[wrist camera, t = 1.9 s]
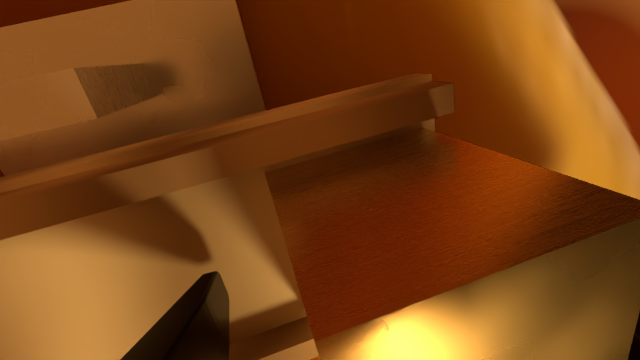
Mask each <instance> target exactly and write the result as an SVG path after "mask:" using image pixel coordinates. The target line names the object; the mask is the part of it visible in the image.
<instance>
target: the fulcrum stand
mask: <svg viewBox="0 0 640 360" xmlns="http://www.w3.org/2000/svg"><path fill="white" fill-rule="evenodd" d="M262 111H266V108H265V104H264V100H263V97H262V93H261V89H260V86H259V82H258V78H257V74H256V71H255V67H254V63H253V60H252V56H251V52H250V49H249V45H248V41H247V38H246V34H245V30H244V27H243V23H242V19H241V16H240V12H239V8H238V4H237V1H236V0H130V1H125V2H120V3H116V4H111V5H106V6H101V7H96V8H91V9H87V10H82V11H77V12H72V13H67V14H63V15H58V16H53V17H48V18H43V19H39V20H34V21H29V22H24V23H19V24H15V25H10V26H5V27H0V170H1V172H2V173H3V175H4V176H8V175H12V174H16V173H20V172H24V171H28V170H32V169H36V168H40V167H44V166H48V165H52V164H56V163H60V162H64V161H68V160H71V159H75V158H79V157H83V156H87V155H91V154H95V153H99V152H103V151H107V150H111V149H115V148H119V147H123V146H127V145H131V144H135V143H139V142H143V141H147V140H151V139H155V138H159V137H163V136H167V135H170V134H174V133H178V132H182V131H186V130H190V129H194V128H198V127H202V126H206V125H210V124H214V123H218V122H222V121H226V120H230V119H234V118H238V117H242V116H246V115H250V114H254V113H258V112H262Z"/></svg>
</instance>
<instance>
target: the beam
mask: <svg viewBox="0 0 640 360" xmlns="http://www.w3.org/2000/svg"><path fill="white" fill-rule="evenodd" d="M452 113H455V99H454V83H449V82H438V81H432V74H423V73H412V74H408V75H404V76H400V77H396V78H392V79H388V80H384V81H380V82H376V83H372V84H368V85H364V86H361V87H357V88H353V89H349V90H345V91H341V92H337V93H333V94H329V95H325V96H321V97H317V98H313V99H309V100H305V101H301V102H297V103H293V104H289V105H285V106H281V107H277V108H273V109H269V110H266V111H262V112H258V113H254V114H250V115H246V116H242V117H238V118H234V119H230V120H226V121H222V122H218V123H214V124H210V125H206V126H202V127H198V128H194V129H190V130H186V131H182V132H178V133H174V134H170V135H167V136H163V137H159V138H155V139H151V140H147V141H143V142H139V143H135V144H131V145H127V146H123V147H119V148H115V149H111V150H107V151H103V152H99V153H95V154H91V155H87V156H83V157H79V158H75V159H71V160H68V161H64V162H60V163H56V164H52V165H48V166H44V167H40V168H36V169H32V170H28V171H24V172H20V173H16V174H12V175H8V176H4V177H0V360H120V359H121V358H122V357H123V356H124V355H125V354H126V353H127V352H128V351H129V350H130V349H131V348H132V347H133V346H134V345H135V344H136V343H137V342H138V341H139V340H140V339H141V338H142V337H143V335H144V334H145V333H146V332H147V331H148V330H149V329H150V328H151V327H152V326H153V325H154V324H155V323H156V322H157V321H158V320H159V319H160V318H161V317H162V316H163V315H164V314H165V313H166V312H167V311H168V310H169V309H170V308H171V307H172V306H173V305H174V304H175V302H176V301H177V300H178V299H179V298H180V297H181V296H182V295H183V294H184V293H185V292H186V291H187V290H188V289H189V288H190V287H191V286H192V285H193V284H194V283H195V282H196V281H197V280H198V279H199V278H200V277H201V276H202V275H203V274H206V273H209V272H213V271H218V272H219V273H220V275H221V277H222V280H223V282H224V285H225V287H226V289H227V292H228V295H229V360H309V359H312V358H315V357H317V356H319V355H318V352H317V348H316V345H315V342H314V338H313V335H312V331H311V328H310V325H309V321H308V318H307V315H306V311H305V308H304V304H303V301H302V298H301V294H300V291H299V288H298V284H297V281H296V277H295V274H294V271H293V267H292V264H291V261H290V257H289V254H288V250H287V247H286V244H285V240H284V237H283V234H282V230H281V227H280V223H279V220H278V217H277V213H276V210H275V207H274V203H273V200H272V196H271V193H270V190H269V186H268V183H267V179H266V176H265V173H264V172H268V171H271V170H275V169H278V168H282V167H285V166H289V165H292V164H296V163H300V162H303V161H307V160H310V159H314V158H317V157H321V156H324V155H328V154H331V153H335V152H338V151H342V150H345V149H349V148H352V147H356V146H359V145H363V144H366V143H370V142H373V141H377V140H381V139H384V138H388V137H391V136H395V135H398V134H402V133H405V132H409V131H412V130H416V129H419V128H423V127H424V128H427V129H430V130H433V131H435V118H438V117H441V116H445V115H449V114H452Z"/></svg>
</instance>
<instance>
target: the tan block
mask: <svg viewBox="0 0 640 360" xmlns="http://www.w3.org/2000/svg"><path fill="white" fill-rule="evenodd" d="M264 173H265V176H266V179H267V183H268V186H269V190H270V193H271V196H272V200H273V203H274V207H275V210H276V213H277V217H278V220H279V223H280V227H281V230H282V234H283V237H284V240H285V244H286V247H287V250H288V254H289V257H290V261H291V264H292V267H293V271H294V274H295V277H296V281H297V284H298V288H299V291H300V294H301V298H302V301H303V304H304V308H305V311H306V315H307V318H308V321H309V325H310V328H311V331H312V335H313V338H314V342H315V345H316V348H317V352H318V355H319V358H320V360H628V356H629V352H630V348H631V344H632V340H633V336H634V332H635V328H636V324H637V320H638V316H639V312H640V200H638V199H636V198H633V197H630V196H627V195H624V194H621V193H618V192H615V191H612V190H609V189H606V188H603V187H600V186H597V185H594V184H591V183H588V182H585V181H582V180H579V179H576V178H573V177H570V176H567V175H564V174H561V173H558V172H555V171H552V170H549V169H546V168H543V167H540V166H537V165H534V164H531V163H528V162H525V161H522V160H519V159H516V158H513V157H510V156H507V155H504V154H501V153H498V152H495V151H492V150H490V149H487V148H484V147H481V146H478V145H475V144H472V143H469V142H466V141H463V140H460V139H457V138H454V137H451V136H448V135H445V134H442V133H439V132H436V131H433V130H430V129H427V128H424V127H423V128H419V129H416V130H412V131H409V132H405V133H402V134H398V135H395V136H391V137H388V138H384V139H381V140H377V141H373V142H370V143H366V144H363V145H359V146H356V147H352V148H349V149H345V150H342V151H338V152H335V153H331V154H328V155H324V156H321V157H317V158H314V159H310V160H307V161H303V162H300V163H296V164H292V165H289V166H285V167H282V168H278V169H275V170H271V171H268V172H264Z"/></svg>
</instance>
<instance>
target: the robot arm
mask: <svg viewBox="0 0 640 360" xmlns="http://www.w3.org/2000/svg"><path fill="white" fill-rule="evenodd" d="M120 360H229V295H228V292H227V289H226V287H225V285H224V282H223V280H222V277H221V275H220V273H219V272H218V271H213V272H209V273H206V274H203V275H202V276H201V277H200V278H199V279H198V280H197V281H196V282H195V283H194V284H193V285H192V286H191V287H190V288H189V289H188V290H187V291H186V292H185V293H184V294H183V295H182V296H181V297H180V298H179V299H178V300H177V301H176V302H175V304H174V305H173V306H172V307H171V308H170V309H169V310H168V311H167V312H166V313H165V314H164V315H163V316H162V317H161V318H160V319H159V320H158V321H157V322H156V323H155V324H154V325H153V326H152V327H151V328H150V329H149V330H148V331H147V332H146V333H145V334H144V335H143V337H142V338H141V339H140V340H139V341H138V342H137V343H136V344H135V345H134V346H133V347H132V348H131V349H130V350H129V351H128V352H127V353H126V354H125V355H124V356H123V357H122V358H121V359H120ZM628 360H640V312H639V316H638V320H637V324H636V328H635V332H634V336H633V340H632V344H631V348H630V352H629V356H628Z"/></svg>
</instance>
